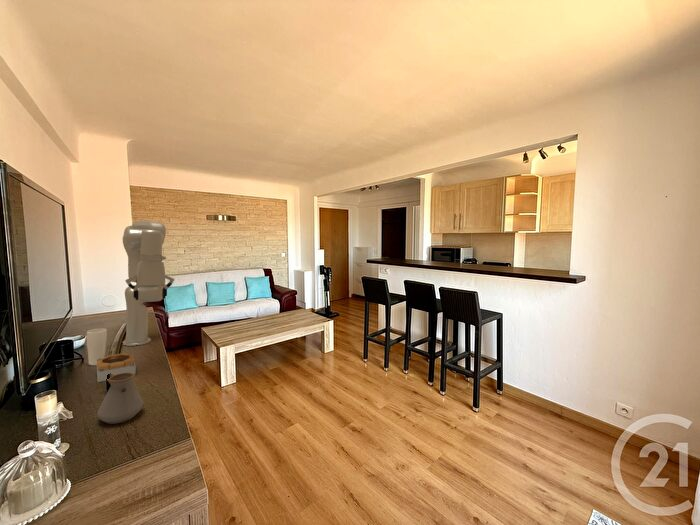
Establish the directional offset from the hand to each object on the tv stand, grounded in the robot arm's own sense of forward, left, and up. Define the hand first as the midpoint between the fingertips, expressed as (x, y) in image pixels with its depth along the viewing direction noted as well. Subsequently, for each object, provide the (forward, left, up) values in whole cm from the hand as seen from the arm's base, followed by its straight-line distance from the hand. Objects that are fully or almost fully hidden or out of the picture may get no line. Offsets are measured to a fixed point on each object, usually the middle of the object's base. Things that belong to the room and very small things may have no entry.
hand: (150, 298), depth 124 cm
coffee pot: (+40, -12, -32) cm, 52 cm away
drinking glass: (-21, -17, -31) cm, 41 cm away
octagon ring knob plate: (-6, -11, -31) cm, 34 cm away
